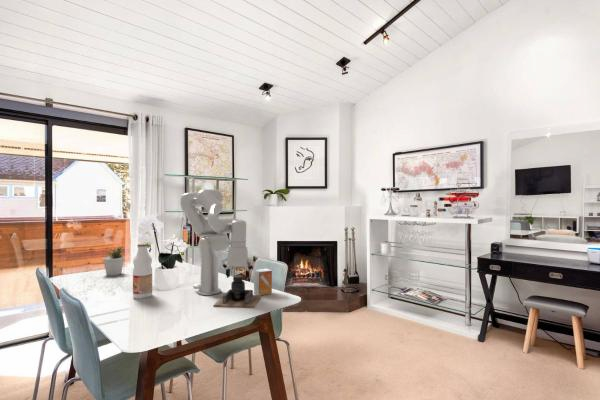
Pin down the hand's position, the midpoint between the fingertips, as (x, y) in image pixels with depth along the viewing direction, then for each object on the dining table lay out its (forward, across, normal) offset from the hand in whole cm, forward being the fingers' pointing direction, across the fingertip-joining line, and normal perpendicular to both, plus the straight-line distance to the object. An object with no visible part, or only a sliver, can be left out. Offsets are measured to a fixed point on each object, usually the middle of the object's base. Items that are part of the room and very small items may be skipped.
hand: (237, 277), depth 176 cm
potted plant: (+16, -97, +51) cm, 111 cm away
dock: (+12, +1, -1) cm, 12 cm away
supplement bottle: (+11, +1, -1) cm, 11 cm away
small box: (+12, +11, +14) cm, 21 cm away
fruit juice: (+14, -52, +4) cm, 54 cm away
